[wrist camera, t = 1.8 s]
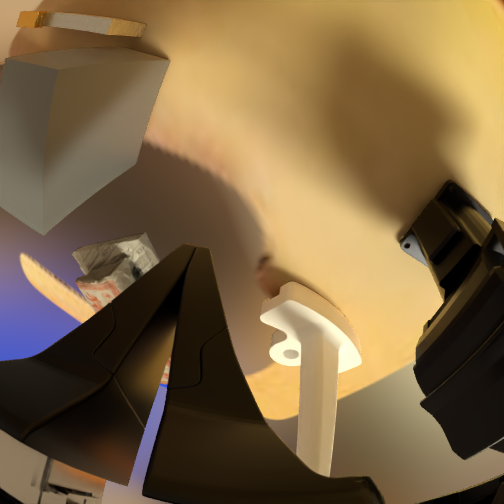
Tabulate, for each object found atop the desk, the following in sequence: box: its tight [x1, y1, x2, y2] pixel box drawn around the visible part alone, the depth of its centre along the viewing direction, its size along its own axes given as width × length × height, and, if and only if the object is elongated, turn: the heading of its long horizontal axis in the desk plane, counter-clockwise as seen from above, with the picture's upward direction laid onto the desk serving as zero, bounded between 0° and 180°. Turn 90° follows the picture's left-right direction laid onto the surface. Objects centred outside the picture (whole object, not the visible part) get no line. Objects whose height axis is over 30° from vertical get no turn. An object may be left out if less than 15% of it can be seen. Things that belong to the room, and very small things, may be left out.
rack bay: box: [0, 11, 146, 88], centre depth 13 cm, size 10×12×8 cm
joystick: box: [260, 282, 362, 477], centre depth 19 cm, size 11×8×20 cm
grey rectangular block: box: [0, 47, 170, 235], centre depth 13 cm, size 4×8×10 cm, turn 155°
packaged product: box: [72, 233, 172, 384], centre depth 28 cm, size 18×5×10 cm
